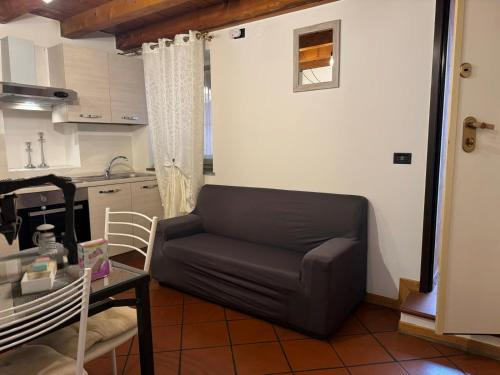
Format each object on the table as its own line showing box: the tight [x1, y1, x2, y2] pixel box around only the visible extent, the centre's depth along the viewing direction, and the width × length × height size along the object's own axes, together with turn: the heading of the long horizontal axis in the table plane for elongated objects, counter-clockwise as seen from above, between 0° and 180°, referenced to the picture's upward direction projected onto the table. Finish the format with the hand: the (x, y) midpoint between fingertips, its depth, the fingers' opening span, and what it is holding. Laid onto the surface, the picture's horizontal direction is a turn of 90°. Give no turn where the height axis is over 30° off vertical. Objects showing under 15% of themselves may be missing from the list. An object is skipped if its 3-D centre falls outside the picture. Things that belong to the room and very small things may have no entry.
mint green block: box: [33, 261, 48, 272], centre depth 148 cm, size 5×5×2 cm
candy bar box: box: [77, 238, 110, 281], centre depth 146 cm, size 11×5×16 cm, turn 141°
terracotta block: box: [34, 256, 51, 266], centre depth 154 cm, size 5×5×2 cm
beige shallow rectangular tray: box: [26, 258, 58, 281], centre depth 152 cm, size 10×16×4 cm, turn 25°
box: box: [20, 269, 55, 295], centre depth 140 cm, size 10×11×5 cm
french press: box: [32, 205, 58, 256], centre depth 181 cm, size 10×12×25 cm
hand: (12, 242), depth 155 cm, fingers open, 9 cm apart
